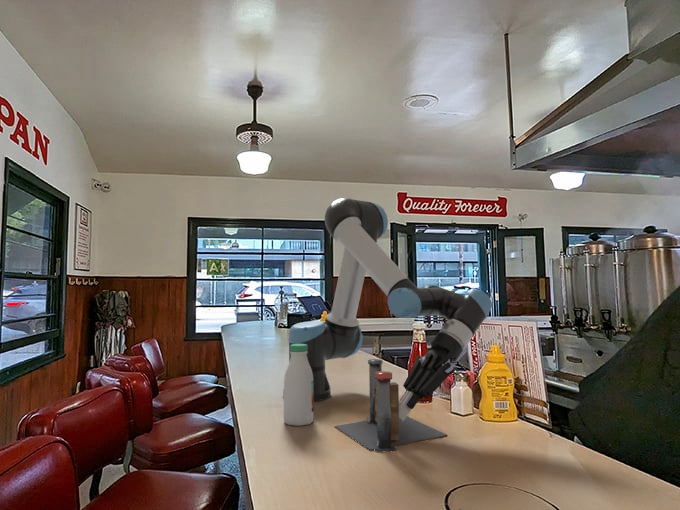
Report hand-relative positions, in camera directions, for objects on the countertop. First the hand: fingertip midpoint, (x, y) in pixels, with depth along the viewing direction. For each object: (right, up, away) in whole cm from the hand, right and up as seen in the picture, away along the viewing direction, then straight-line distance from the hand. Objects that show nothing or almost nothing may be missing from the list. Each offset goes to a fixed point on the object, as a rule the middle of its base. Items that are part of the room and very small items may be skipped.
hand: (397, 417), depth 106 cm
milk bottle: (-24, -6, +11) cm, 27 cm away
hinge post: (-4, -5, +11) cm, 13 cm away
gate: (-3, -4, +2) cm, 5 cm away
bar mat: (-2, -5, +4) cm, 6 cm away
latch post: (-4, -4, -7) cm, 9 cm away
